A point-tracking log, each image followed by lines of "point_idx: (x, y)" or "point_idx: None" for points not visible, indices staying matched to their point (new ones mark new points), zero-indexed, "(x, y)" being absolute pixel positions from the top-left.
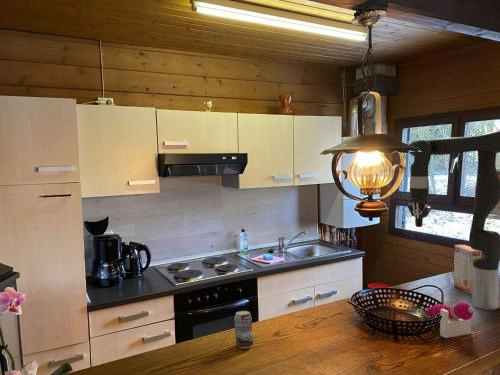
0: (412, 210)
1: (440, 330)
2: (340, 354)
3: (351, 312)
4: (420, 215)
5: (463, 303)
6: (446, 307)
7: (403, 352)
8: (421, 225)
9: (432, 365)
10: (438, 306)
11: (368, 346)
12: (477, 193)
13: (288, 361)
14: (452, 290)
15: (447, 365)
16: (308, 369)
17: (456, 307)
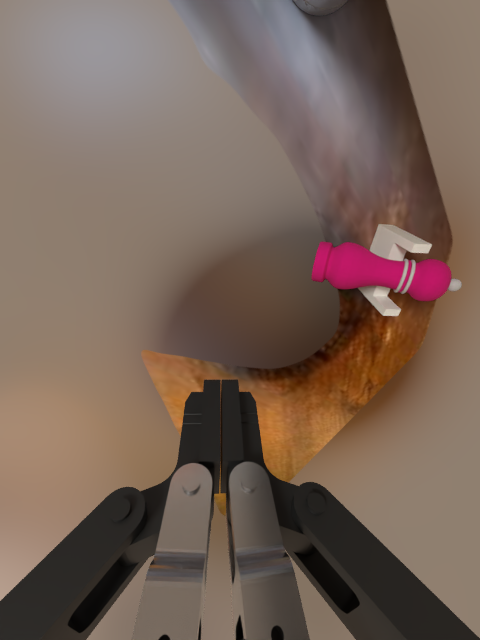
0: (71, 621)
1: (361, 291)
2: (312, 422)
3: (203, 362)
4: (293, 548)
5: (440, 293)
6: (375, 281)
7: (354, 367)
8: (250, 401)
9: (399, 357)
10: (352, 285)
11: (316, 393)
12: None
13: (295, 458)
14: None
15: (413, 342)
16: (318, 450)
17: (420, 300)
